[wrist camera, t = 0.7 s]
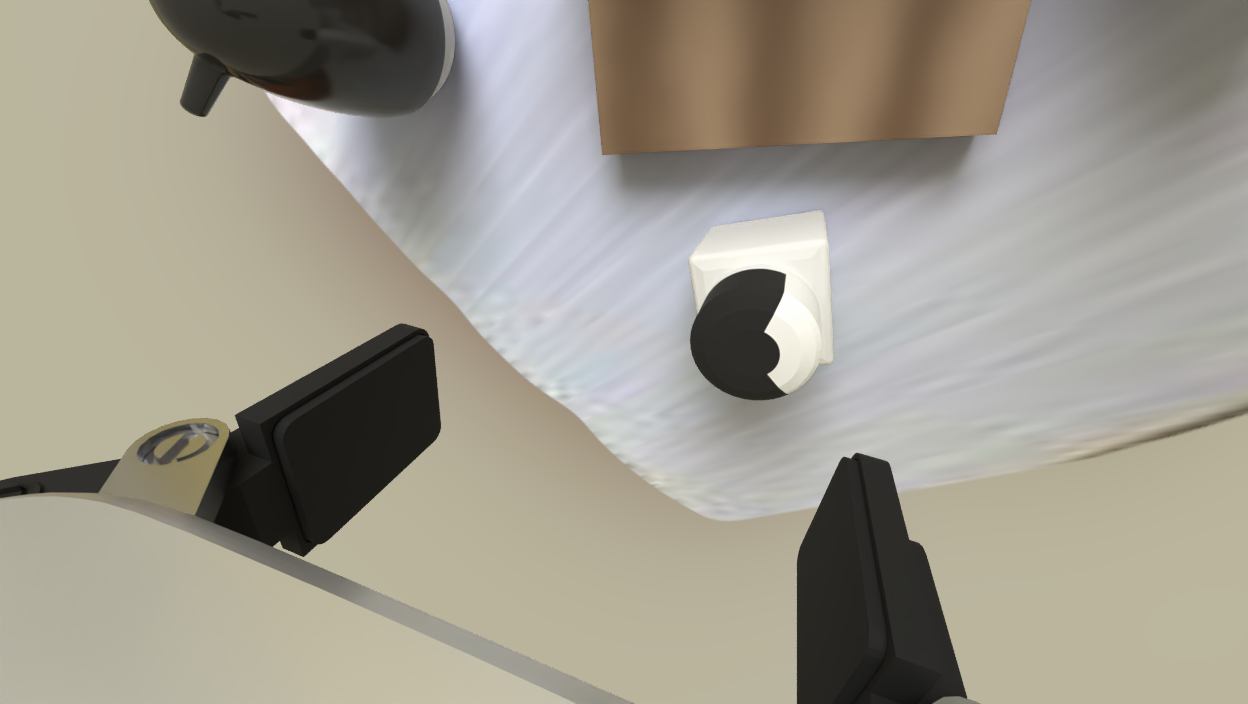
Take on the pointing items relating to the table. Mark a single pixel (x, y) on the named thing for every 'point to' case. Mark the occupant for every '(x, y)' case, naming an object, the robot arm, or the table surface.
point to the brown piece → (799, 70)
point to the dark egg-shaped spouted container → (316, 51)
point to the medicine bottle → (762, 304)
